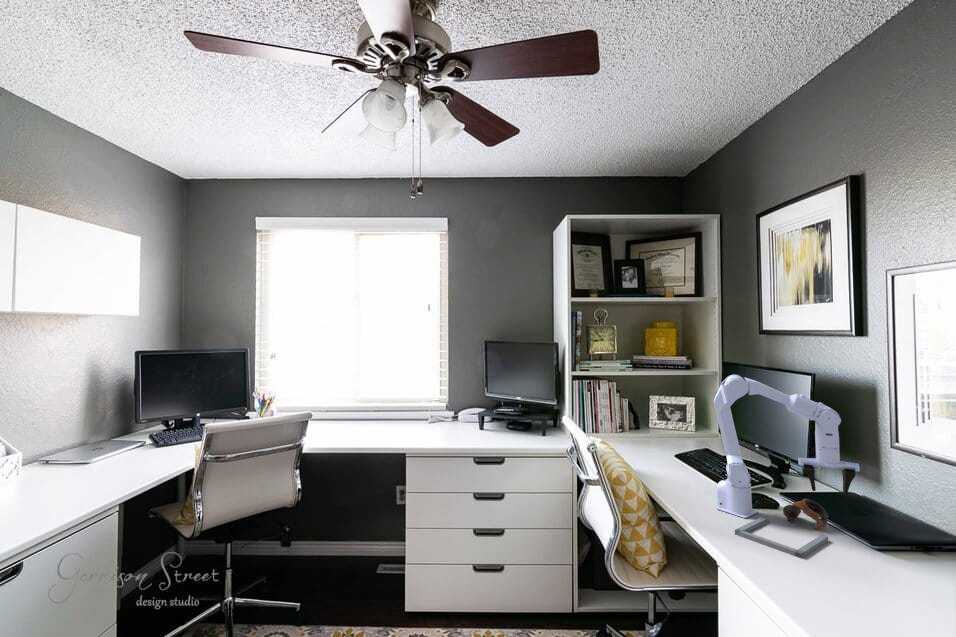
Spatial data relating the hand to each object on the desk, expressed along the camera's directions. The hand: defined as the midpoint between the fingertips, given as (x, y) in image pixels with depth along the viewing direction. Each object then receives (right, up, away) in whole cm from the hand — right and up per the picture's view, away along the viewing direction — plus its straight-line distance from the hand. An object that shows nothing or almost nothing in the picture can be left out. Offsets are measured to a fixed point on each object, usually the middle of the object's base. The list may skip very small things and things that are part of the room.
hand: (829, 491), depth 137 cm
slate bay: (-19, -10, -8) cm, 23 cm away
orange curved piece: (-8, -10, 0) cm, 13 cm away
